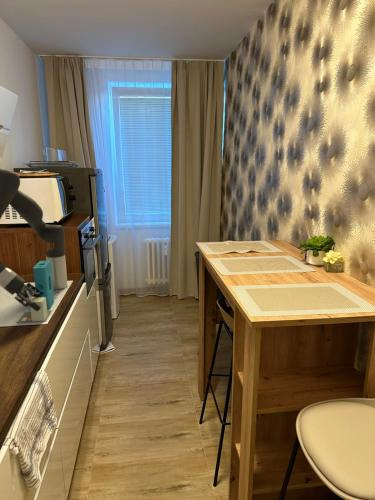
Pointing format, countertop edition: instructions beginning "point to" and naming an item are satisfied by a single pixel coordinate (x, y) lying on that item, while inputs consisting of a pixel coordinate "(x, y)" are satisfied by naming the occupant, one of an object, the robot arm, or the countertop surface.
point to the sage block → (42, 312)
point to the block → (44, 281)
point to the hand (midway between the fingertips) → (42, 305)
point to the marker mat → (27, 317)
